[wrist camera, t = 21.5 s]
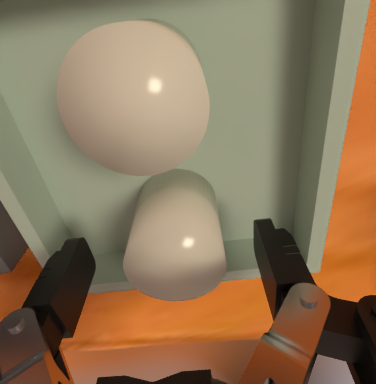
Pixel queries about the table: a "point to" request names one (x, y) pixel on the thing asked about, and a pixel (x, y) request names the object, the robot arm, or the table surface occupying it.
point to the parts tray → (10, 242)
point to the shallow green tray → (215, 133)
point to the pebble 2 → (175, 238)
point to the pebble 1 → (134, 96)
